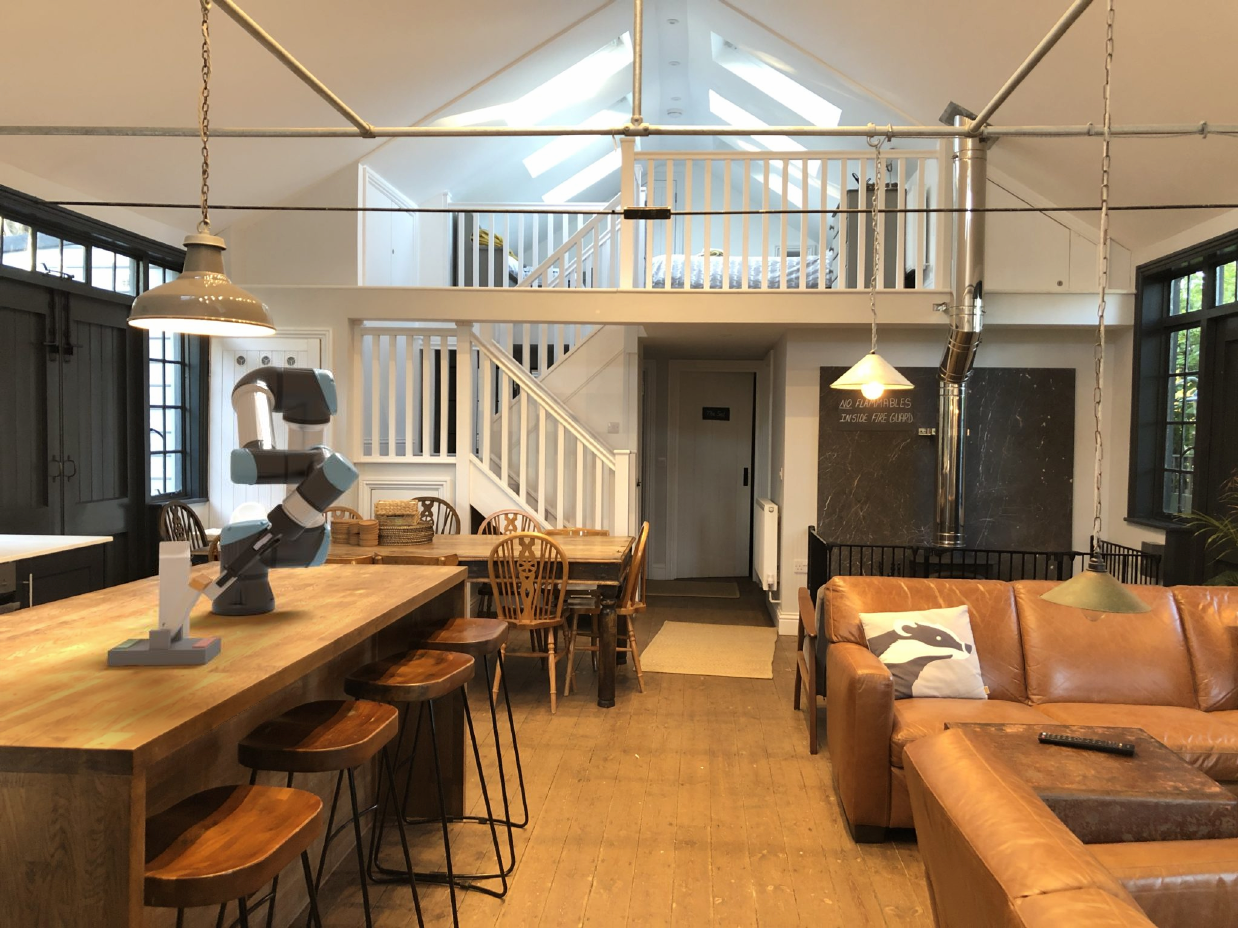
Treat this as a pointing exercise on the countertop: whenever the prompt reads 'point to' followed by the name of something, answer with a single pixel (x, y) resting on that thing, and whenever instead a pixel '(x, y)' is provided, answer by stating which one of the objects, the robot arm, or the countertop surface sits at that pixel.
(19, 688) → the countertop surface
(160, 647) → the switch plate
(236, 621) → the countertop surface
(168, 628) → the handle
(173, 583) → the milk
